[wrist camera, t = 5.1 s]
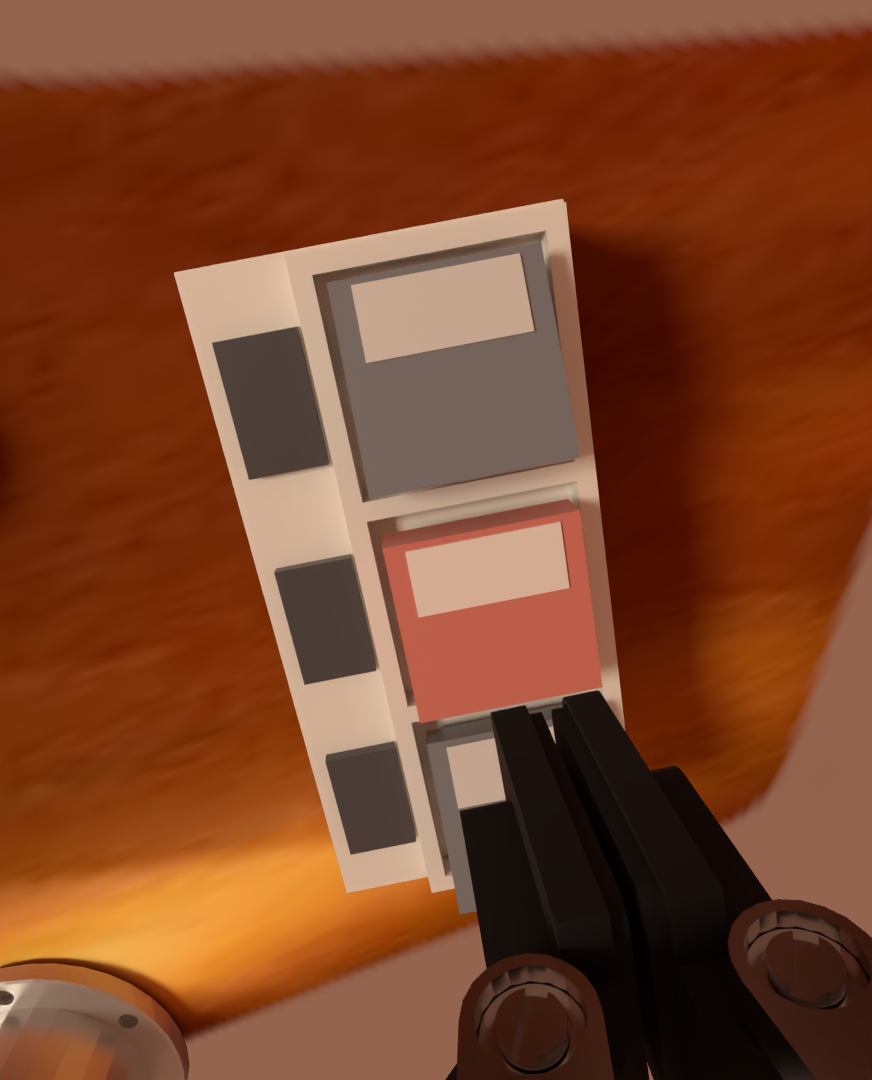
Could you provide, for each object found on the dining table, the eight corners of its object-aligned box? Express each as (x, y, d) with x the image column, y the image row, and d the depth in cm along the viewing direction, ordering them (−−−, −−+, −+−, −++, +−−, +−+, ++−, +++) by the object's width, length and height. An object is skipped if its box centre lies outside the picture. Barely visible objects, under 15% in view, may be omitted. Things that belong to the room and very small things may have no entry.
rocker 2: (618, 858, 24) (631, 881, 22) (458, 891, 24) (459, 915, 22) (588, 699, 24) (599, 710, 22) (426, 730, 24) (426, 745, 22)
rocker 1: (569, 460, 20) (580, 456, 18) (373, 498, 20) (369, 497, 18) (532, 260, 19) (541, 241, 18) (333, 298, 19) (326, 281, 18)
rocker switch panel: (597, 756, 31) (644, 854, 25) (352, 804, 31) (345, 914, 25) (528, 222, 24) (572, 192, 19) (215, 281, 24) (162, 269, 18)
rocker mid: (589, 666, 22) (603, 688, 21) (417, 699, 22) (419, 724, 21) (567, 498, 21) (580, 510, 19) (382, 534, 21) (382, 549, 19)
